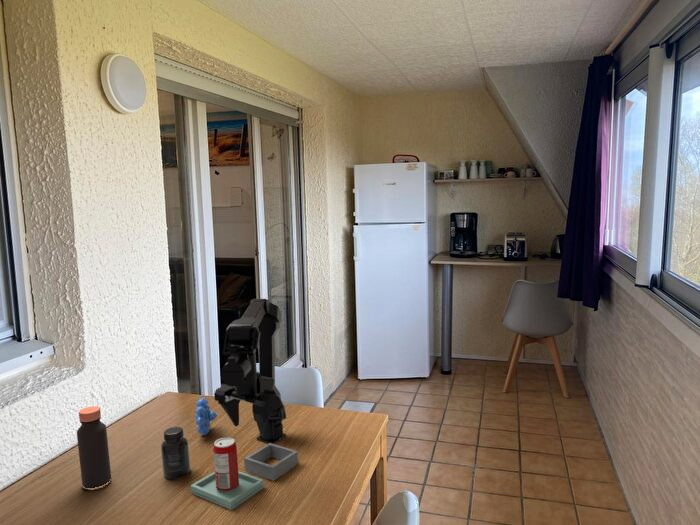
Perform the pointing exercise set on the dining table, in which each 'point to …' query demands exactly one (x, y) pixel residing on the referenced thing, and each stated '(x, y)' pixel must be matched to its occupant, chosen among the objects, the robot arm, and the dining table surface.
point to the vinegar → (93, 448)
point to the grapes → (204, 416)
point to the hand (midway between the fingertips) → (249, 429)
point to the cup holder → (268, 471)
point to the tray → (227, 499)
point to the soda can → (226, 464)
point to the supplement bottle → (175, 454)
